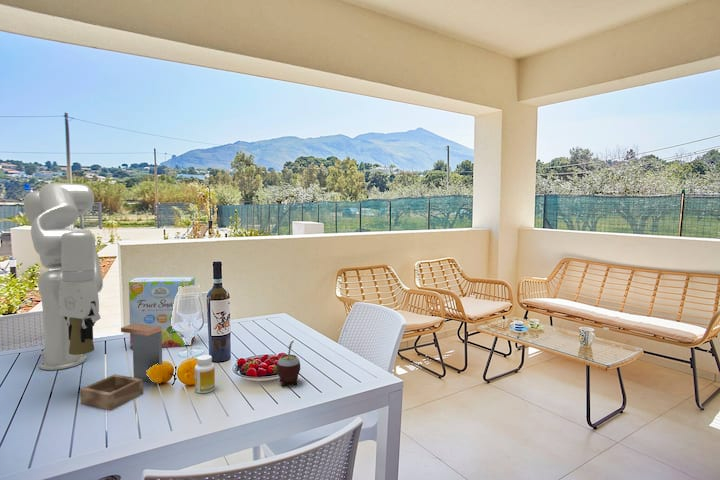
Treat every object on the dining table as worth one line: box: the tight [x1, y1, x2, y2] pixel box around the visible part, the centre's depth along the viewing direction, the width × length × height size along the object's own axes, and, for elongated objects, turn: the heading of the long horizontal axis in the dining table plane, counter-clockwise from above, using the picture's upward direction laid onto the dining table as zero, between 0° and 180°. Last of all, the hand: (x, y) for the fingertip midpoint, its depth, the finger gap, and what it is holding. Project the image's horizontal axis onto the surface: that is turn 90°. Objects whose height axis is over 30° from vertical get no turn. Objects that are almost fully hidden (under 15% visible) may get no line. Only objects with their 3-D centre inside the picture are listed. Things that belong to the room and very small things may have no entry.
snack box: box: [128, 276, 196, 350], centre depth 153 cm, size 22×9×26 cm, turn 104°
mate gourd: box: [276, 340, 301, 388], centre depth 121 cm, size 8×8×15 cm
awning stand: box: [120, 323, 163, 384], centre depth 120 cm, size 10×5×17 cm, turn 72°
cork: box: [69, 315, 95, 355], centre depth 113 cm, size 6×6×11 cm
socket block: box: [79, 373, 144, 411], centre depth 111 cm, size 10×10×4 cm
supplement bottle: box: [194, 354, 216, 394], centre depth 117 cm, size 5×5×10 cm
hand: (81, 339), depth 113 cm, fingers closed on cork, 3 cm apart
